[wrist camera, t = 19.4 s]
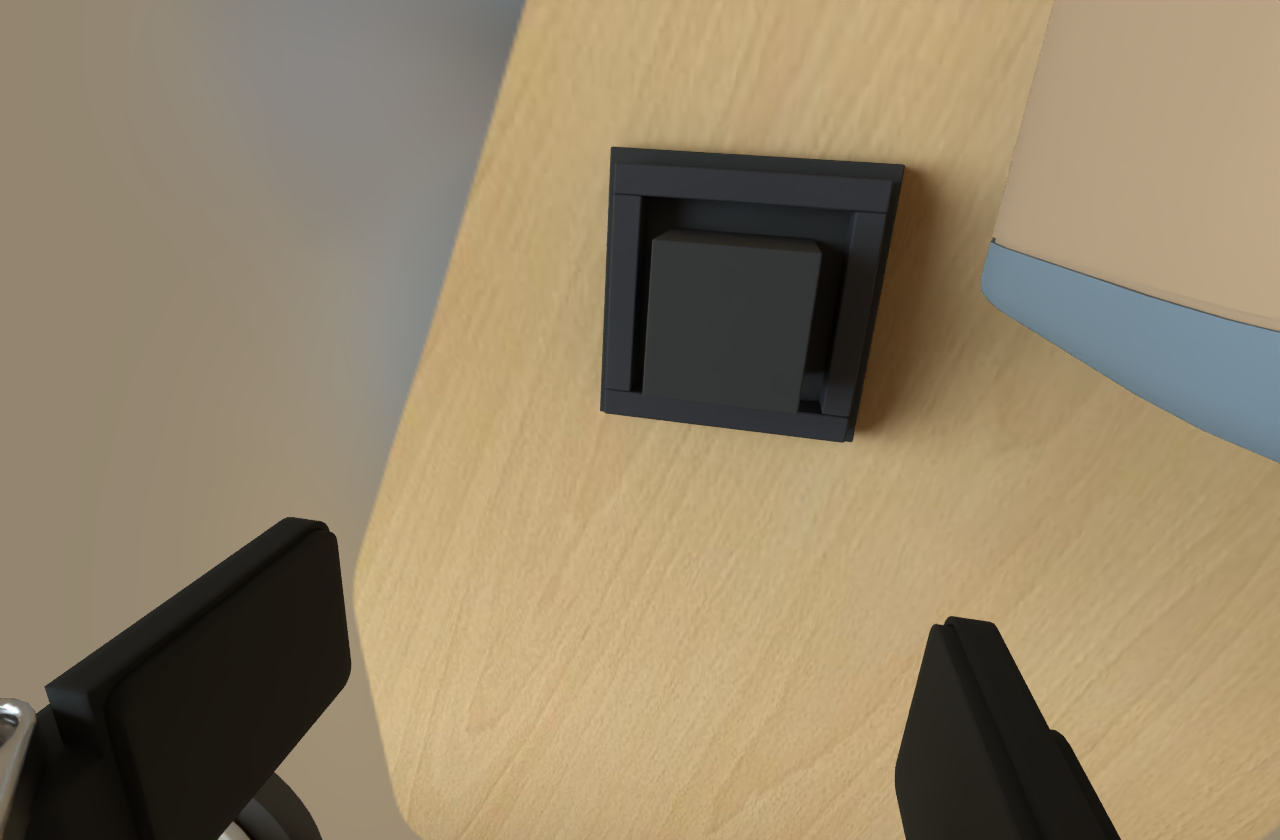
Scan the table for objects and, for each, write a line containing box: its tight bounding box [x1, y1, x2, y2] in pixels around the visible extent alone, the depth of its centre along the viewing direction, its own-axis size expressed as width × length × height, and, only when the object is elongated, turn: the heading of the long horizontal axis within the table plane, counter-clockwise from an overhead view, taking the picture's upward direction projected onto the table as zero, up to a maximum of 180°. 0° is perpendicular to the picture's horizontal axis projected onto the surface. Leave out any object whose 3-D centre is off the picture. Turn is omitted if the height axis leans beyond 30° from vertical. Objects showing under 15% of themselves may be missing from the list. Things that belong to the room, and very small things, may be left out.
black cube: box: [642, 228, 822, 414], centre depth 22 cm, size 5×5×4 cm
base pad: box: [600, 147, 905, 442], centre depth 24 cm, size 10×10×2 cm
